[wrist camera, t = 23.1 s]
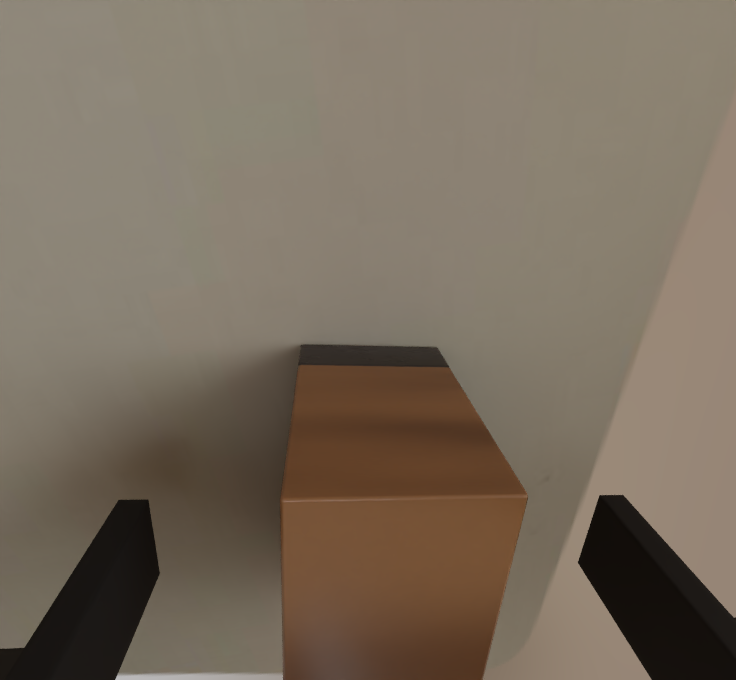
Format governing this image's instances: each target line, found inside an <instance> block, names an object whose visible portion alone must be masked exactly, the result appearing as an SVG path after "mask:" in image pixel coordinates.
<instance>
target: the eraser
mask: <svg viewBox="0 0 736 680" xmlns="http://www.w3.org/2000/svg"><path fill="white" fill-rule="evenodd" d="M527 499H528V495H527V493H526V491H525V489H524V488H523V486H522V485H521V483H520V481H519V480H518V478H517V476H516V475H515V473H514V472H513V470H512V468H511V467H510V465H509V464H508V462H507V460H506V459H505V457H504V455H503V454H502V452H501V451H500V449H499V447H498V446H497V444H496V442H495V441H494V439H493V438H492V436H491V434H490V433H489V431H488V429H487V428H486V426H485V425H484V423H483V421H482V420H481V418H480V417H479V415H478V413H477V412H476V410H475V408H474V407H473V405H472V404H471V402H470V400H469V399H468V397H467V395H466V394H465V392H464V391H463V389H462V387H461V386H460V384H459V383H458V381H457V379H456V378H455V376H454V374H453V373H452V371H451V370H450V368H449V366H448V364H447V363H446V361H445V359H444V358H443V356H442V355H441V353H440V351H439V350H438V348H427V347H380V346H333V345H301V349H300V356H299V363H298V371H297V379H296V386H295V394H294V401H293V408H292V416H291V423H290V430H289V438H288V445H287V452H286V460H285V467H284V474H283V482H282V489H281V497H280V528H281V585H282V641H283V680H483V676H484V672H485V668H486V664H487V660H488V656H489V652H490V648H491V644H492V640H493V636H494V632H495V628H496V624H497V620H498V616H499V612H500V608H501V604H502V600H503V596H504V592H505V588H506V584H507V580H508V576H509V572H510V568H511V564H512V560H513V556H514V552H515V548H516V544H517V540H518V536H519V532H520V528H521V523H522V519H523V515H524V511H525V507H526V503H527Z"/></svg>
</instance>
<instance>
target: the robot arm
mask: <svg viewBox="0 0 736 680" xmlns="http://www.w3.org/2000/svg"><path fill="white" fill-rule="evenodd" d="M578 564H579V565H580V567H581V568H582V570H583V571H584V573H585V575H586V576H587V578H588V579H589V581H590V582H591V584H592V586H593V587H594V589H595V590H596V592H597V593H598V595H599V597H600V598H601V600H602V601H603V603H604V604H605V606H606V608H607V609H608V611H609V613H610V614H611V616H612V617H613V619H614V621H615V622H616V623H617V625H618V627H619V628H620V630H621V632H622V633H623V635H624V636H625V638H626V640H627V641H628V643H629V644H630V645H631V647H632V649H633V651H634V652H635V654H636V655H637V657H638V659H639V660H640V661H641V663H642V665H643V666H644V668H645V670H646V671H647V673H648V674H649V676H650V677H651V679H652V680H736V618H733V616H732V615H731V614H730V613H729V612H728V611H727V610H726V609H725V608H724V607H723V605H722V604H721V603H720V602H719V601H718V600H717V599H716V598H715V597H714V595H713V594H712V593H711V592H710V591H709V590H708V589H707V588H706V587H705V585H704V584H703V583H702V582H701V581H700V580H699V579H698V578H697V577H696V576H695V574H694V573H693V572H692V571H691V570H690V569H689V568H688V567H687V565H686V564H685V563H684V562H683V561H682V560H681V559H680V558H679V557H678V555H677V554H676V553H675V552H674V551H673V550H672V549H671V548H670V547H669V546H668V544H667V543H666V542H665V541H664V540H663V539H662V538H661V537H660V535H658V534H657V532H656V531H655V530H654V529H653V528H652V527H651V526H650V524H648V522H647V521H646V520H645V519H644V518H643V517H642V516H641V515H640V514H639V512H638V511H637V510H636V509H635V508H634V507H633V506H632V504H631V503H630V502H629V501H628V500H627V499H626V498H625V497H624V496H623V495H600V496H599V499H598V502H597V505H596V508H595V512H594V514H593V518H592V521H591V524H590V527H589V530H588V533H587V536H586V539H585V542H584V545H583V548H582V552H581V555H580V558H579V561H578ZM159 574H160V572H159V566H158V559H157V553H156V546H155V540H154V533H153V527H152V521H151V514H150V508H149V501H148V500H118V502H117V504H116V505H115V507H114V508H113V510H112V511H111V513H110V515H109V516H108V518H107V519H106V521H105V522H104V524H103V526H102V527H101V529H100V530H99V532H98V533H97V535H96V536H95V538H94V540H93V541H92V543H91V544H90V546H89V547H88V549H87V551H86V552H85V554H84V555H83V557H82V558H81V560H80V562H79V563H78V565H77V566H76V568H75V569H74V571H73V573H72V574H71V576H70V577H69V579H68V580H67V582H66V584H65V585H64V587H63V588H62V590H61V591H60V593H59V595H58V596H57V598H56V599H55V601H54V602H53V604H52V606H51V607H50V609H49V610H48V612H47V613H46V615H45V617H44V618H43V620H42V621H41V623H40V624H39V626H38V628H37V629H36V631H35V632H34V634H33V635H32V637H31V639H30V640H29V642H28V643H27V645H26V646H25V648H13V649H0V680H115V679H116V676H117V674H118V672H119V669H120V667H121V665H122V662H123V660H124V657H125V655H126V653H127V650H128V648H129V645H130V643H131V641H132V638H133V636H134V634H135V631H136V629H137V626H138V624H139V622H140V619H141V617H142V615H143V612H144V610H145V607H146V605H147V603H148V600H149V598H150V595H151V593H152V591H153V588H154V586H155V584H156V581H157V579H158V576H159Z"/></svg>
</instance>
